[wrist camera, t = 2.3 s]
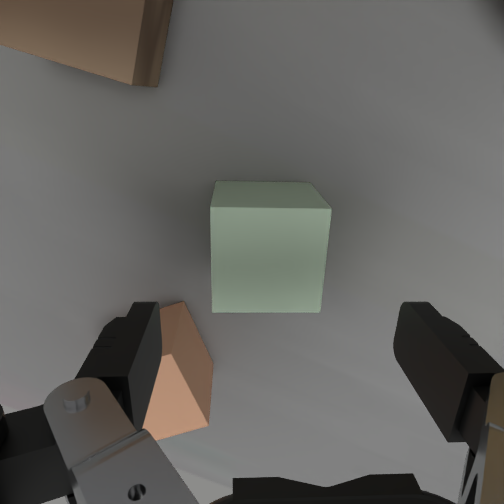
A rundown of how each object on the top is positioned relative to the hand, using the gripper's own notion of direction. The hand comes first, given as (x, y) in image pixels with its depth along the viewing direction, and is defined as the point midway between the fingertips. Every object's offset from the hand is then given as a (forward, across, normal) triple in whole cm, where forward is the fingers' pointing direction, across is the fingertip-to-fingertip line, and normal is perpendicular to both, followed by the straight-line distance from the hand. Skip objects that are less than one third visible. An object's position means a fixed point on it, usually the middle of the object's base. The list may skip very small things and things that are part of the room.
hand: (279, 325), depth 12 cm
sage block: (+9, 0, 0) cm, 9 cm away
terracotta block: (+10, +6, +8) cm, 14 cm away
